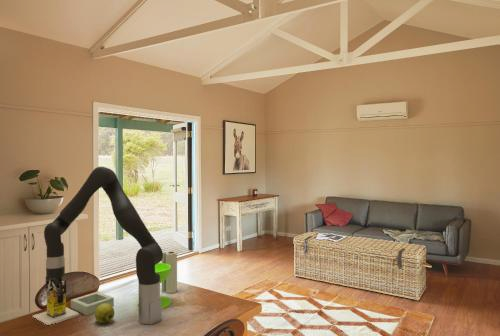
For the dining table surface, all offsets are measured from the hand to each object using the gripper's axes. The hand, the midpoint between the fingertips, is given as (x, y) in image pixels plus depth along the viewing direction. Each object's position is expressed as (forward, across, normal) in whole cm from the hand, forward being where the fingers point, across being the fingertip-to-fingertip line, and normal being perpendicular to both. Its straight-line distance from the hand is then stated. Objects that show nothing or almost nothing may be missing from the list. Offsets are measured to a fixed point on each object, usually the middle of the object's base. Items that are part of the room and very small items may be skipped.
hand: (55, 300), depth 171 cm
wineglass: (+7, -24, -37) cm, 44 cm away
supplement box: (+6, 0, 0) cm, 6 cm away
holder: (+7, -3, -16) cm, 18 cm away
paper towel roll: (+7, -17, -53) cm, 56 cm away
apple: (+7, -23, -10) cm, 26 cm away
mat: (+7, 0, 0) cm, 7 cm away
